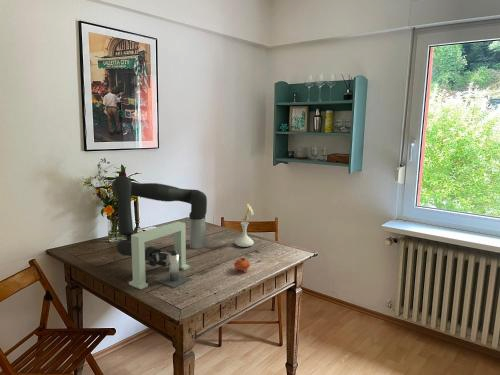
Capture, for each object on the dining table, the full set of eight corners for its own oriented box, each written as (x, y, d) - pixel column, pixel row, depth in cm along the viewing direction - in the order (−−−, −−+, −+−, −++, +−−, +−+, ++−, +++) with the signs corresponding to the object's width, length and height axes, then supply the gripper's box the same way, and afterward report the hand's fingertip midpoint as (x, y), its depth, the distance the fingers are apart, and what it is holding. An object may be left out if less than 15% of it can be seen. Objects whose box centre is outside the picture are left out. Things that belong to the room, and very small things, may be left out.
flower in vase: (247, 249, 207) (248, 207, 203) (230, 246, 213) (231, 205, 209) (258, 243, 219) (259, 203, 214) (242, 240, 224) (243, 201, 220)
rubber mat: (156, 281, 164) (156, 280, 164) (174, 273, 173) (174, 272, 173) (173, 288, 158) (173, 287, 158) (191, 279, 167) (191, 278, 167)
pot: (254, 269, 179) (252, 257, 177) (243, 277, 174) (242, 265, 171) (242, 264, 184) (240, 253, 182) (231, 272, 179) (230, 260, 177)
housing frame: (128, 284, 160) (126, 234, 156) (178, 263, 185) (177, 220, 181) (140, 289, 156) (138, 238, 152) (189, 267, 180) (189, 223, 176)
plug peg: (177, 276, 168) (177, 248, 166) (180, 280, 164) (179, 251, 162) (168, 278, 166) (167, 249, 164) (170, 282, 162) (170, 252, 160)
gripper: (136, 250, 167) (160, 258, 158) (160, 242, 179) (183, 249, 170) (137, 265, 168) (160, 274, 159) (160, 256, 180) (183, 264, 171)
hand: (172, 261), depth 164 cm, fingers open, 8 cm apart
